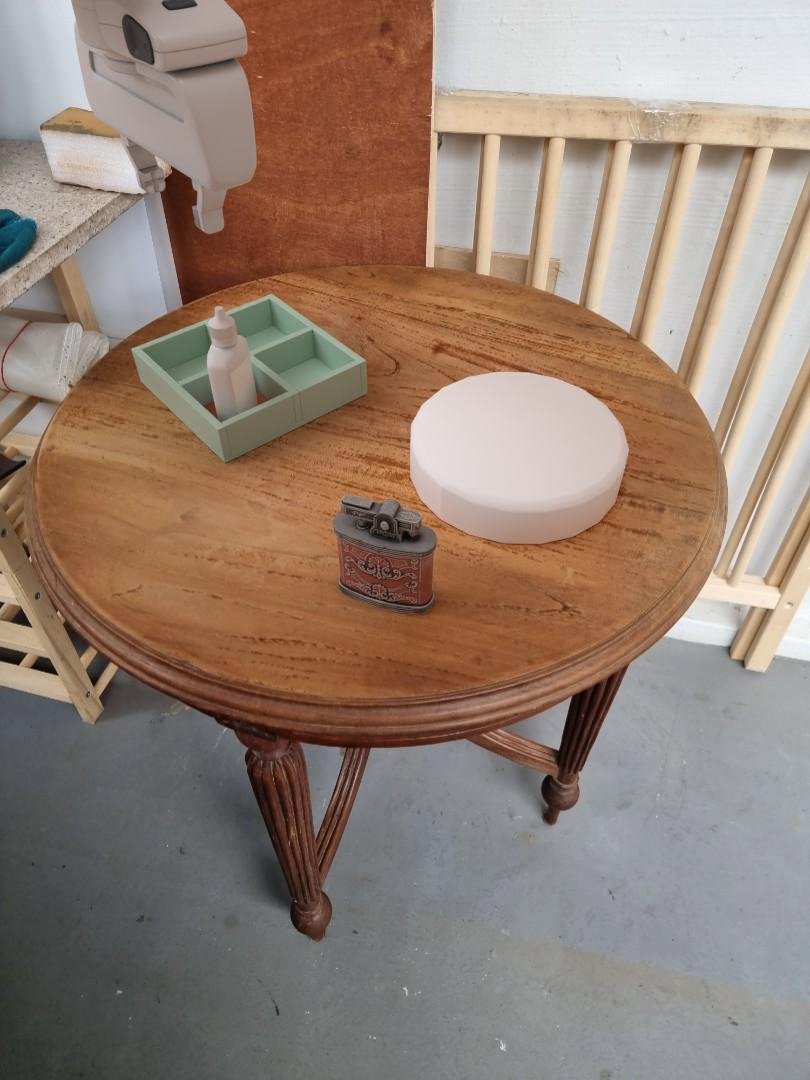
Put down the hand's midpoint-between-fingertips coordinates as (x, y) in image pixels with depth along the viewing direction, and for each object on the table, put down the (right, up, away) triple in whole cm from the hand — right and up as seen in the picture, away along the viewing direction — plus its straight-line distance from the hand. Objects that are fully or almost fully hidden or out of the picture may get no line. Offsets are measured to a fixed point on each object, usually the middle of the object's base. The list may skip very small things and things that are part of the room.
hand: (180, 209), depth 63 cm
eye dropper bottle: (+2, -14, +15) cm, 21 cm away
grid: (+2, -11, +20) cm, 23 cm away
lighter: (+17, -31, +1) cm, 35 cm away
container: (+29, -20, +11) cm, 37 cm away
